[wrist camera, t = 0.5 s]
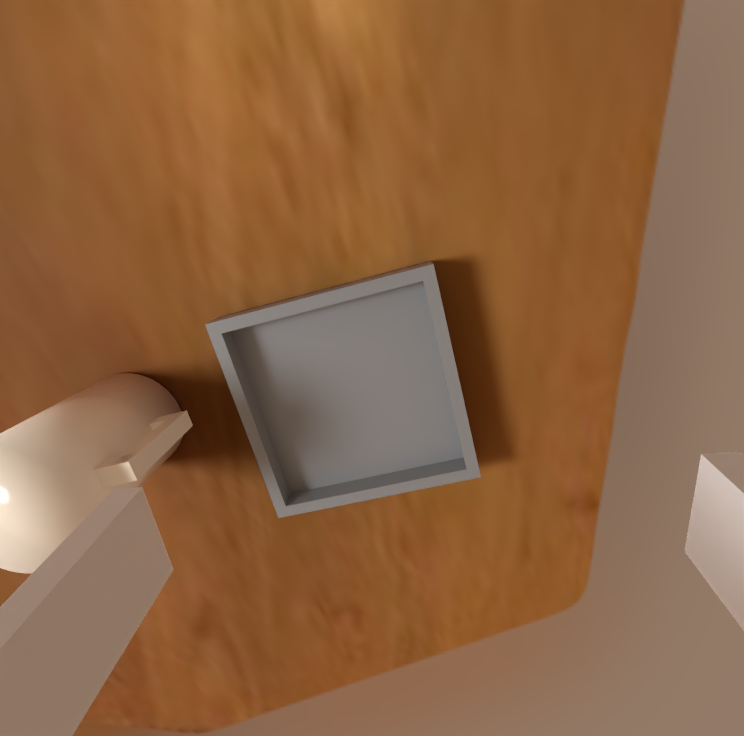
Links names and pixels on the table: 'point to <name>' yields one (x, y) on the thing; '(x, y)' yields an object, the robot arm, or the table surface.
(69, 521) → the white pitcher
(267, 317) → the slate tray
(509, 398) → the table surface
